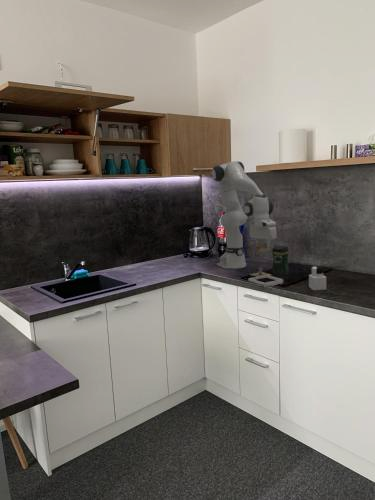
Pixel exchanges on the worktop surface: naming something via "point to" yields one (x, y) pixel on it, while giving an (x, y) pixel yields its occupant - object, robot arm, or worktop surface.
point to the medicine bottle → (317, 279)
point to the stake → (259, 273)
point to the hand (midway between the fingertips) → (263, 246)
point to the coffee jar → (280, 260)
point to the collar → (262, 247)
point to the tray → (268, 284)
